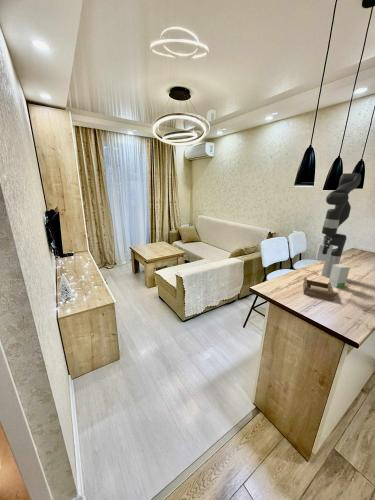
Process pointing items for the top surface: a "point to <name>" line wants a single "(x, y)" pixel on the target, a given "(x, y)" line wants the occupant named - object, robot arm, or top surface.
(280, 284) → the top surface
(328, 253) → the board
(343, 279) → the skincare box
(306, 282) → the rack
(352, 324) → the top surface
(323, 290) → the offcut upper
